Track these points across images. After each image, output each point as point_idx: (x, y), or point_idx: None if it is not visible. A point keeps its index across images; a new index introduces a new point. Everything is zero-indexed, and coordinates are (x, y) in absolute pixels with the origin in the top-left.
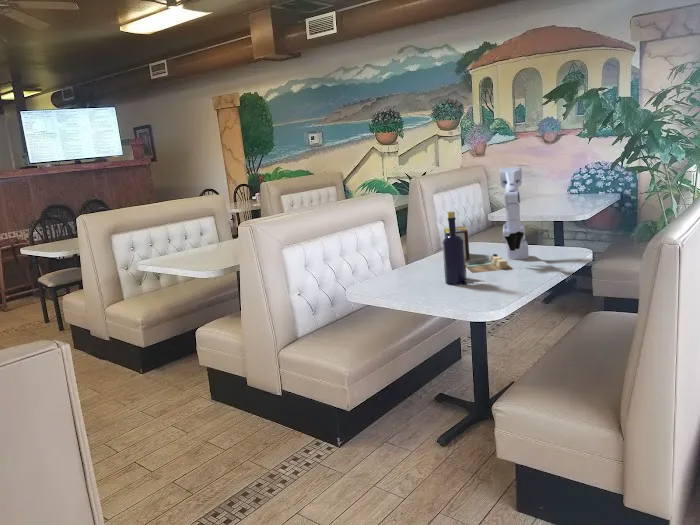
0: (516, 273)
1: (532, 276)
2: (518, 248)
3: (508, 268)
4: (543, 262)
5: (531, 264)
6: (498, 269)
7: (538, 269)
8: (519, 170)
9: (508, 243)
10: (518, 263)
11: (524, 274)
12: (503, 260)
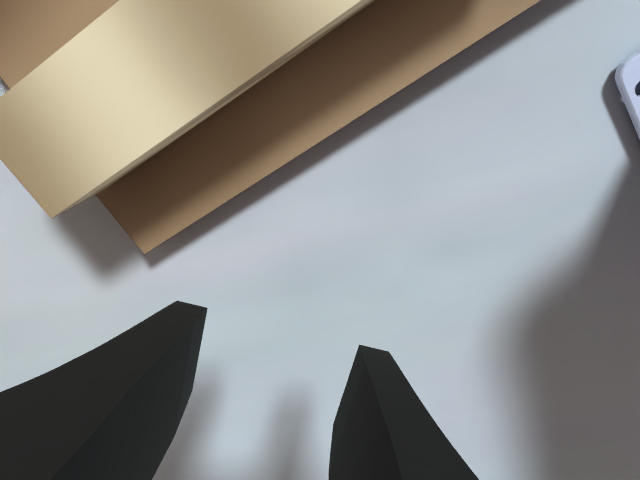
0: (70, 293)
1: None
2: (335, 431)
3: (130, 195)
4: (587, 442)
5: (498, 352)
6: None
7: (275, 447)
8: None
9: (42, 388)
10: (565, 201)
11: None
12: (106, 140)
